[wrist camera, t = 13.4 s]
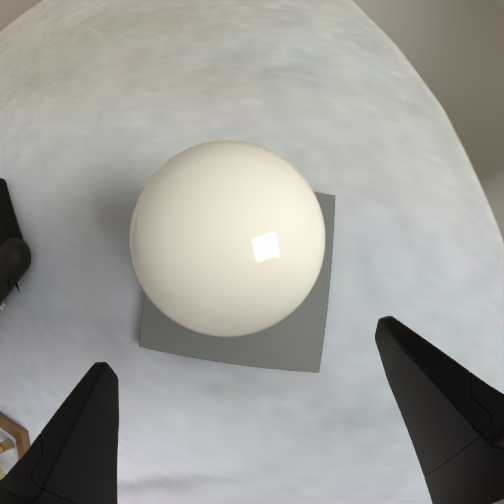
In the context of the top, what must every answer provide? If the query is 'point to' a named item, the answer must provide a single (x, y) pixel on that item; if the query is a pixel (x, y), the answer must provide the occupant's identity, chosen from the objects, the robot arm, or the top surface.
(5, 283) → the door handle
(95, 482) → the robot arm
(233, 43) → the top surface
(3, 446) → the ring stand
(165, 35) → the top surface
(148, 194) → the lightbulb
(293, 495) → the top surface
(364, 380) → the top surface
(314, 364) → the mat
